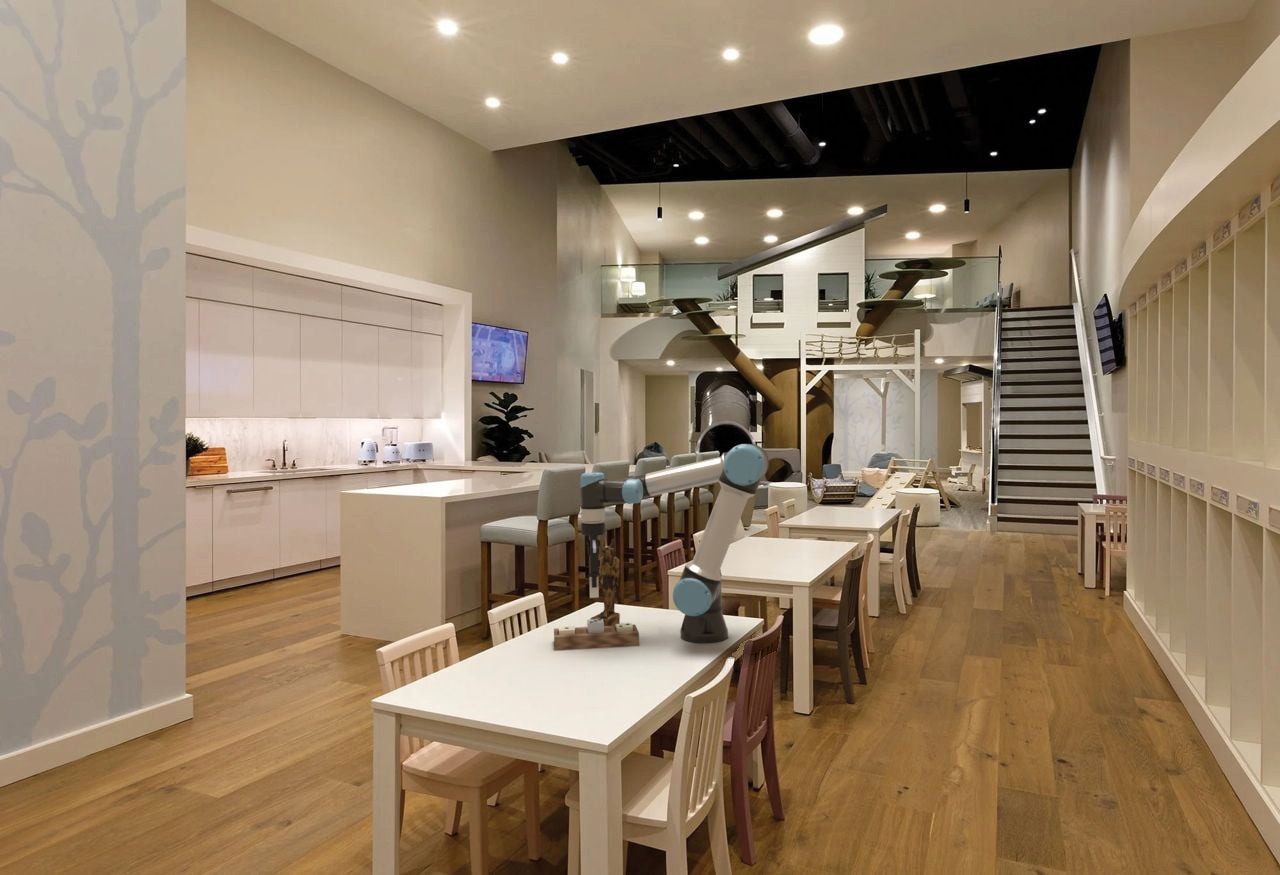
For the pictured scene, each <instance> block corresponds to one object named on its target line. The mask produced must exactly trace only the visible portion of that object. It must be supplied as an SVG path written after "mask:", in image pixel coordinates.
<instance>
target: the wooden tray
mask: <svg viewBox="0 0 1280 875" xmlns="http://www.w3.org/2000/svg"><path fill="white" fill-rule="evenodd" d="M632 626H633V631H623V632H616V625H615V626H604V633H587V626H584V627H583V626H582V627H581V626H579V627H575V634H566V635H559V627H558V628H553V644H554V645H553V646H554V649H553V650H554V651H564V650H565V651H567V649H569V650H584V649H585V650H587V649H601V648H603V649H605V648H606V649H607V648H622V647H624V648H625V647H635V646H636V647H637V646H639V647H640V632H639V630H638V628H637V626H636V624H632Z"/></svg>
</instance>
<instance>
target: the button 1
mask: <svg viewBox="0 0 1280 875" xmlns="http://www.w3.org/2000/svg"><path fill="white" fill-rule="evenodd" d="M558 628H559V635H566V634H575V628H576V626H574V625H571V626H569V625H568V626H559V627H558Z"/></svg>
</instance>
